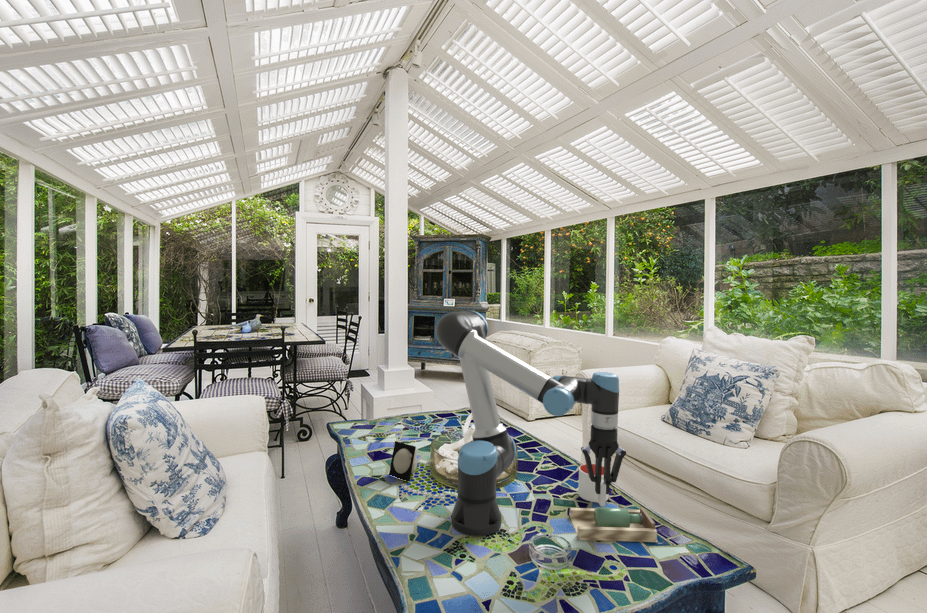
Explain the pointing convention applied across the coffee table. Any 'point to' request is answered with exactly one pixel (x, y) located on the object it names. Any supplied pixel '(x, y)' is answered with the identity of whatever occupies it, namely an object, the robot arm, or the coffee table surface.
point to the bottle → (615, 517)
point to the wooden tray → (589, 531)
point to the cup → (588, 484)
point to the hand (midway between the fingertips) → (601, 504)
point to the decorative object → (403, 461)
